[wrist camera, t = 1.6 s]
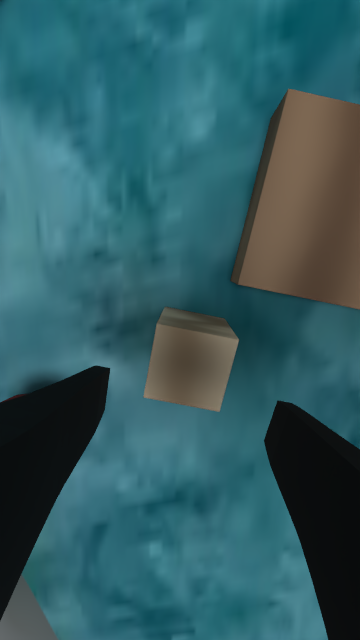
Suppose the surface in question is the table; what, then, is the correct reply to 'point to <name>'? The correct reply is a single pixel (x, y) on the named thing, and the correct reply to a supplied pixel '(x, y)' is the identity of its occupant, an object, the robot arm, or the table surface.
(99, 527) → the table surface
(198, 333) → the maple block
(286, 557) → the table surface
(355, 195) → the walnut block
